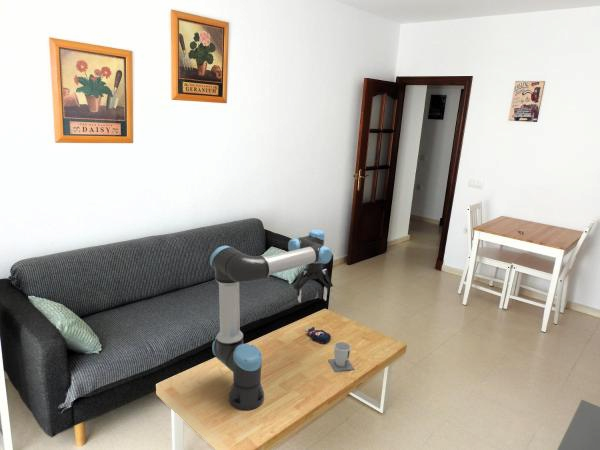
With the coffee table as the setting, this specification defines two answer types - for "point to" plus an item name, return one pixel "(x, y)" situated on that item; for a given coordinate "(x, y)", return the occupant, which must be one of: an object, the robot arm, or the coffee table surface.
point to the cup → (341, 353)
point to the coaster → (340, 369)
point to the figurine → (318, 335)
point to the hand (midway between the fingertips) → (312, 300)
